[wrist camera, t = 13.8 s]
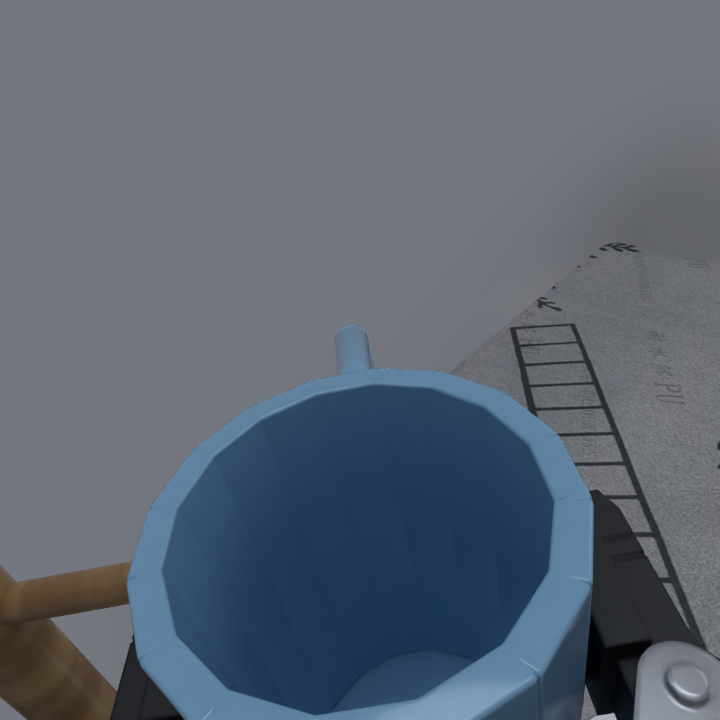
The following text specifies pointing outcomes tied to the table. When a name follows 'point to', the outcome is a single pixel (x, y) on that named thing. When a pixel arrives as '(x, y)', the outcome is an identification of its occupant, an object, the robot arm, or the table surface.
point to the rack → (55, 644)
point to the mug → (370, 557)
